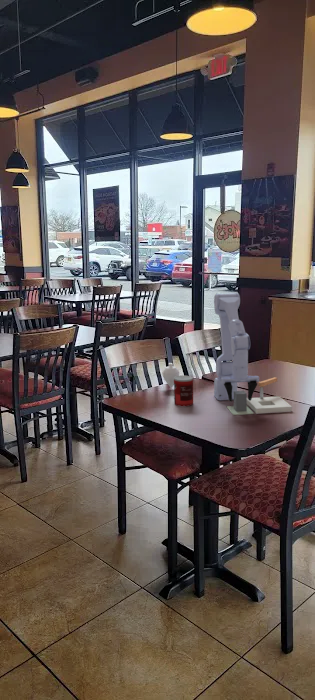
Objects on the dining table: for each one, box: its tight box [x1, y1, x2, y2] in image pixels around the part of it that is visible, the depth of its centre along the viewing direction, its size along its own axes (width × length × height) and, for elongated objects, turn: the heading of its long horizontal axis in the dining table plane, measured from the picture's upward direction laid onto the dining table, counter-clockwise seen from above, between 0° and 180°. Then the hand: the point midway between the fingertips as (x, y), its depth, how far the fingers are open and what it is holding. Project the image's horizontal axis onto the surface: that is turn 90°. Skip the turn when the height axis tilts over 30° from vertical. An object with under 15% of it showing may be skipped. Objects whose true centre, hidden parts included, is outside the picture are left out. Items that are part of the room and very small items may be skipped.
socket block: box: [247, 386, 293, 415], centre depth 203 cm, size 14×14×7 cm
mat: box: [226, 405, 255, 416], centre depth 200 cm, size 8×10×1 cm
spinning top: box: [162, 362, 180, 390], centre depth 232 cm, size 8×8×12 cm
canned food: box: [173, 375, 194, 407], centre depth 210 cm, size 8×8×11 cm
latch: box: [258, 376, 278, 388], centre depth 210 cm, size 11×2×2 cm, turn 134°
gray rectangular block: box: [233, 390, 248, 412], centre depth 199 cm, size 4×4×7 cm
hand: (240, 400), depth 199 cm, fingers open, 7 cm apart
